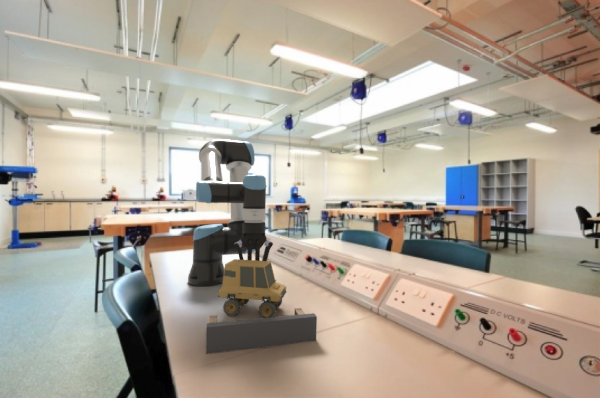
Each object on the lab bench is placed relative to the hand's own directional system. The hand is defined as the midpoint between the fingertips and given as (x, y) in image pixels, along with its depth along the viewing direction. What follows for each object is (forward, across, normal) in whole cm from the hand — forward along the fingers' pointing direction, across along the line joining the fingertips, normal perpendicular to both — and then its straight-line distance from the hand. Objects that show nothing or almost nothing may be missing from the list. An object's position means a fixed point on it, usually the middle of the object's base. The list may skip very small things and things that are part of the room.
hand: (252, 292), depth 93 cm
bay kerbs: (+4, 0, -20) cm, 20 cm away
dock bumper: (+4, 0, -27) cm, 27 cm away
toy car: (+4, -1, -7) cm, 8 cm away
